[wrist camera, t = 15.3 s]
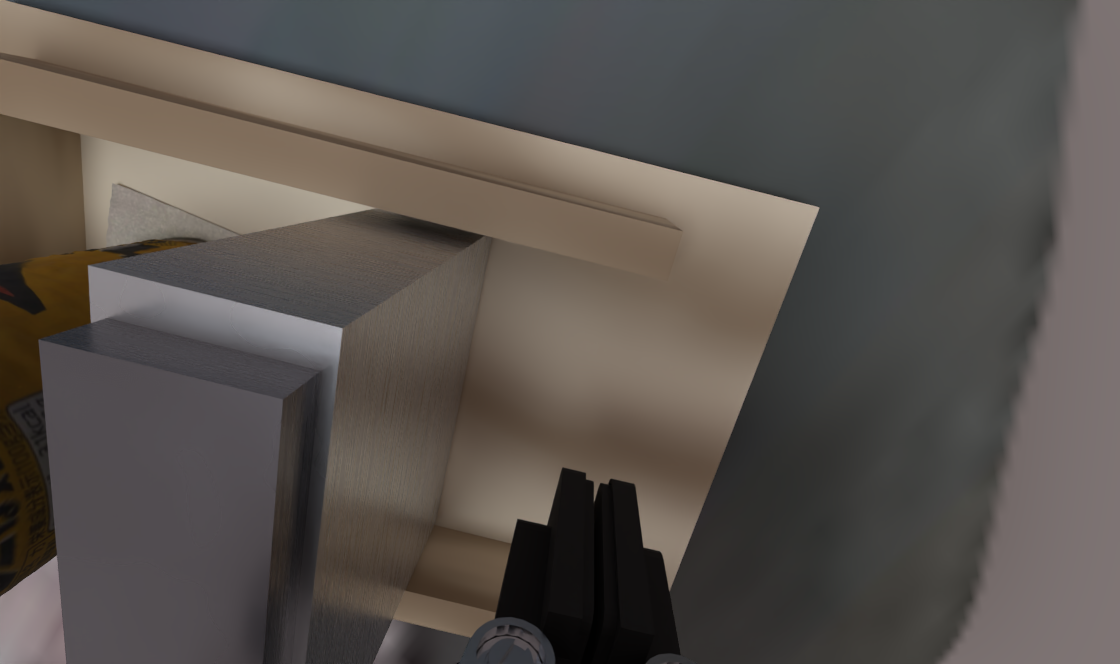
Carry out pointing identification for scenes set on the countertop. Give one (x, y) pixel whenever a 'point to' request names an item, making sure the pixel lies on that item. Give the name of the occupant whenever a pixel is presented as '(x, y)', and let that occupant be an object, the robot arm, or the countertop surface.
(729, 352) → the wooden tray
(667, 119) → the countertop surface
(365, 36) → the countertop surface
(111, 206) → the condiment
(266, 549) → the grey flat block
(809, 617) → the countertop surface
